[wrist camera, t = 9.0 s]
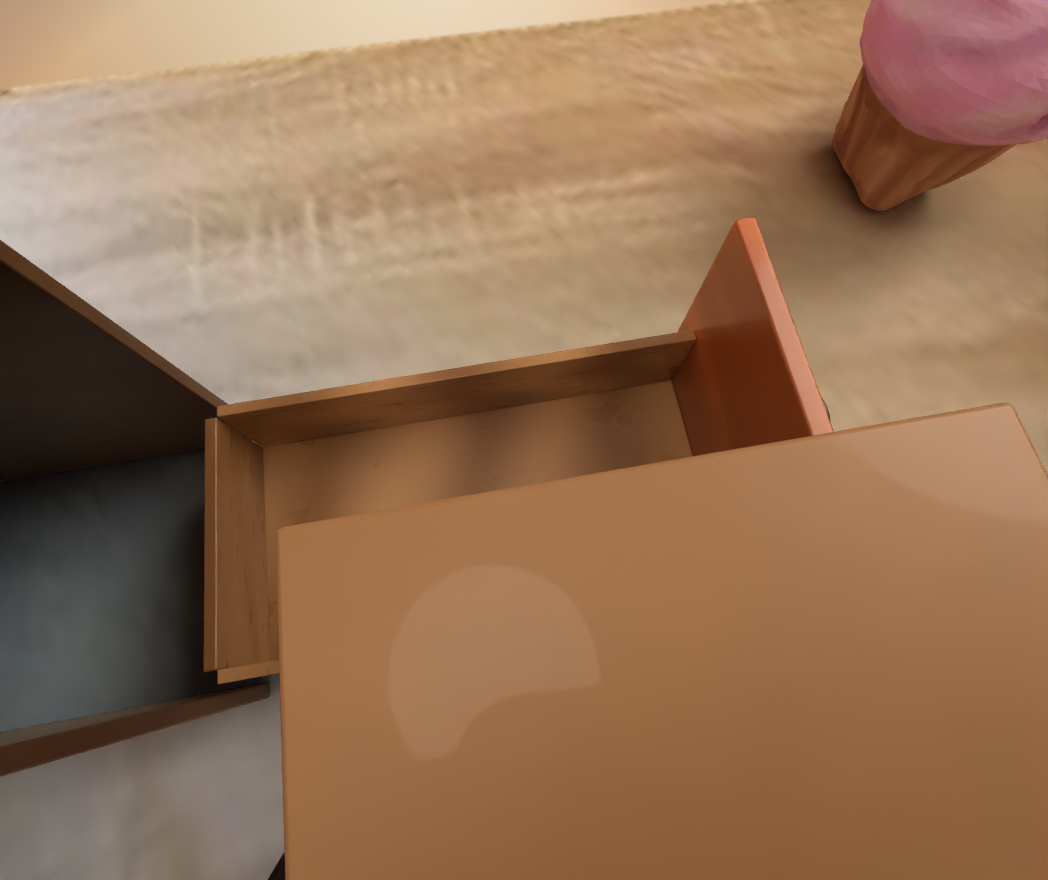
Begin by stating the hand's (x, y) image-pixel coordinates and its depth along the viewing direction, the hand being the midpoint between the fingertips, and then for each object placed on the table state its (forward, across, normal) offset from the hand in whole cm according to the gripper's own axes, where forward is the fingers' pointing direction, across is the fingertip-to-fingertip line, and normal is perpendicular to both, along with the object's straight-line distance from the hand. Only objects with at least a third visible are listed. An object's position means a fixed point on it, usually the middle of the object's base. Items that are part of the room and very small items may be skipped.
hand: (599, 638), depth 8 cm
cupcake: (+22, -20, -3) cm, 30 cm away
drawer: (+12, +1, +6) cm, 14 cm away
